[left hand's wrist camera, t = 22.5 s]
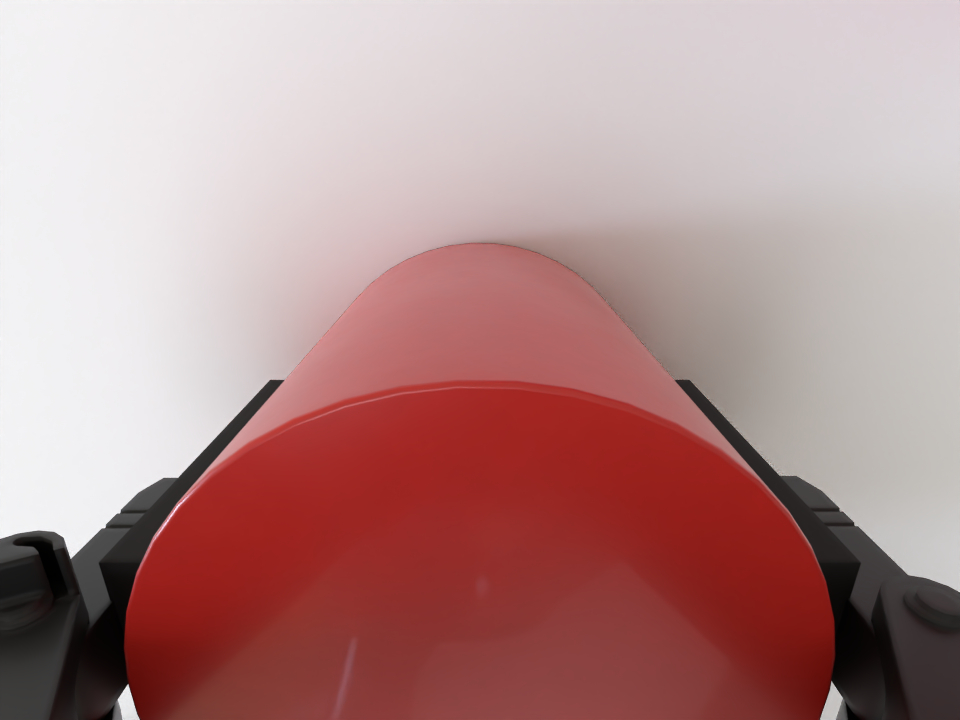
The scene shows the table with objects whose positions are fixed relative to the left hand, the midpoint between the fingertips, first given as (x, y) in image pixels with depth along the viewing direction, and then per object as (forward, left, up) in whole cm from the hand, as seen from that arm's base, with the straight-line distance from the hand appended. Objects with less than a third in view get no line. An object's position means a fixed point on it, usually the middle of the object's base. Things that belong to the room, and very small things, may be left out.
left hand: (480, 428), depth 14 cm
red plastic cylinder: (0, 0, -2) cm, 2 cm away
